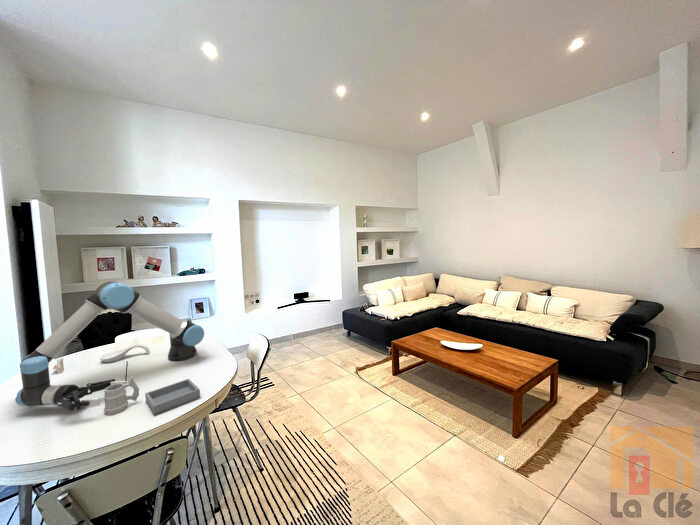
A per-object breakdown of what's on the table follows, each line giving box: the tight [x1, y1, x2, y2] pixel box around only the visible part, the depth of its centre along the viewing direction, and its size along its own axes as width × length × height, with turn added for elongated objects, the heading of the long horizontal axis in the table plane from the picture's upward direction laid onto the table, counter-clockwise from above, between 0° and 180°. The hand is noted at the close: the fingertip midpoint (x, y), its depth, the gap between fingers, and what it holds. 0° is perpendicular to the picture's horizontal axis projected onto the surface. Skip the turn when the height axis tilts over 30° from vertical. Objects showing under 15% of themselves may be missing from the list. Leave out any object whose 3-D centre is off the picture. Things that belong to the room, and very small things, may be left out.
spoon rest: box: [99, 343, 151, 363], centre depth 171 cm, size 24×12×7 cm, turn 121°
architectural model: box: [52, 357, 65, 375], centre depth 154 cm, size 3×7×7 cm, turn 38°
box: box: [144, 378, 201, 417], centre depth 122 cm, size 17×15×4 cm
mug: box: [103, 376, 140, 416], centre depth 117 cm, size 8×12×12 cm, turn 138°
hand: (113, 392), depth 116 cm, fingers open, 13 cm apart
